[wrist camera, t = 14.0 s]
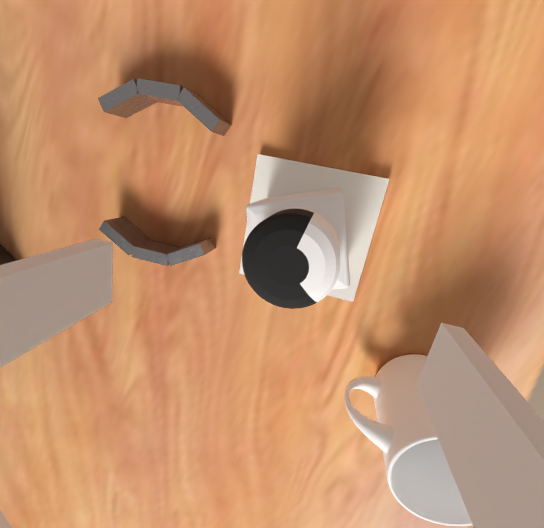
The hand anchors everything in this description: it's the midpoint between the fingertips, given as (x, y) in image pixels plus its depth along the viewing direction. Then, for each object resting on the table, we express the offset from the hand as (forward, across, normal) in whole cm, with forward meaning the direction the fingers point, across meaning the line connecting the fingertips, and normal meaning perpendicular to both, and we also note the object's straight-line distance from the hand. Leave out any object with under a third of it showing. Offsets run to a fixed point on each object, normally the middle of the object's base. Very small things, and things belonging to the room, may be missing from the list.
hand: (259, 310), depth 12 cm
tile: (+19, 0, 0) cm, 19 cm away
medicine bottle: (+18, 0, 0) cm, 18 cm away
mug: (+19, +14, -14) cm, 27 cm away
